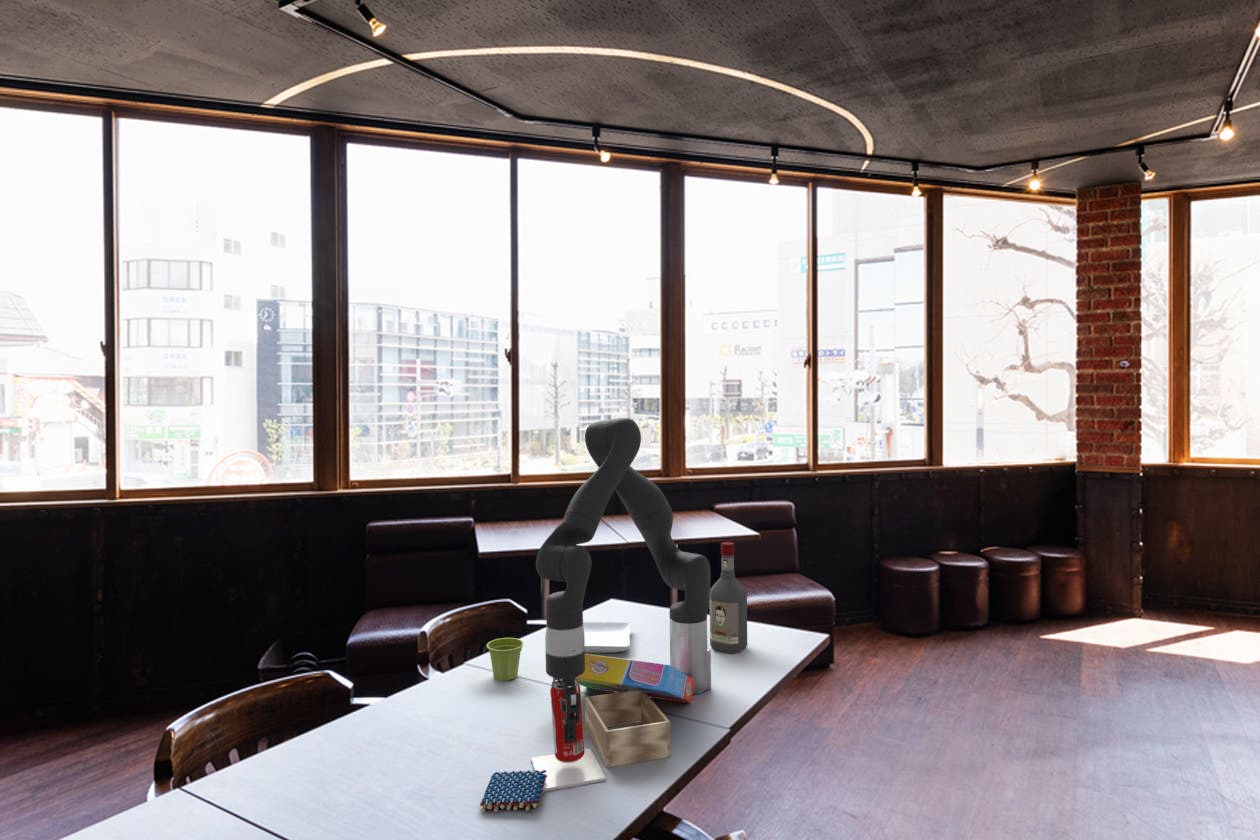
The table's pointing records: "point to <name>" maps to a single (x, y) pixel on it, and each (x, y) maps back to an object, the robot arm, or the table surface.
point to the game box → (636, 678)
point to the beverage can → (562, 749)
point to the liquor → (728, 608)
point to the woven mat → (514, 790)
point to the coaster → (568, 771)
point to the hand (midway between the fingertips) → (566, 734)
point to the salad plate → (606, 637)
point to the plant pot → (505, 657)
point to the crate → (627, 728)
